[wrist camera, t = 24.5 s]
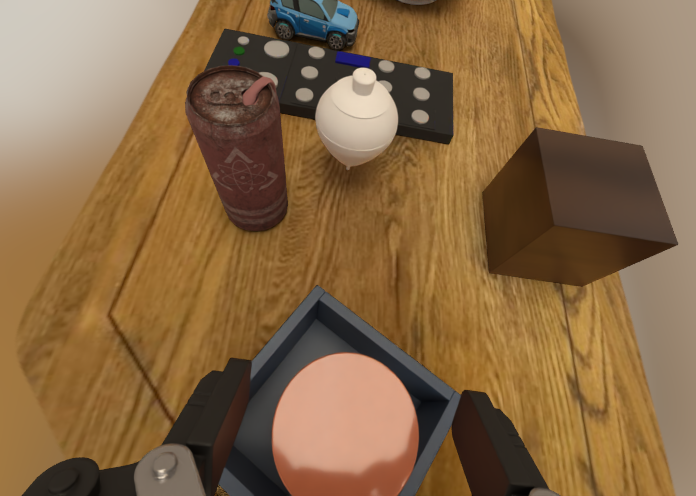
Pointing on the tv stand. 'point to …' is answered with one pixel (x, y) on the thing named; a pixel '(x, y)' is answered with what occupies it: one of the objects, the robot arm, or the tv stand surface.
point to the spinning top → (356, 118)
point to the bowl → (417, 1)
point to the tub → (299, 350)
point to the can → (241, 142)
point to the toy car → (315, 21)
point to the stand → (573, 210)
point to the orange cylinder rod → (345, 429)
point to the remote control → (330, 66)
